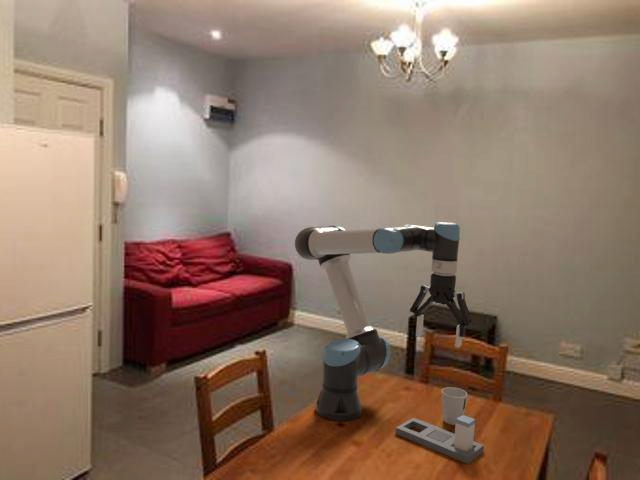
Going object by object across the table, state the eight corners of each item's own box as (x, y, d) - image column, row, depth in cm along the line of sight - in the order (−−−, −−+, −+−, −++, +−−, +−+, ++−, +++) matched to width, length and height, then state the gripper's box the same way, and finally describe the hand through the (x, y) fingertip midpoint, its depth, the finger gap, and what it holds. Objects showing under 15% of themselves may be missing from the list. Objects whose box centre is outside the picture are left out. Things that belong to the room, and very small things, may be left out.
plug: (453, 452, 159) (456, 418, 158) (459, 447, 162) (462, 414, 161) (465, 457, 157) (468, 423, 155) (472, 452, 160) (475, 419, 158)
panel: (395, 433, 169) (396, 427, 169) (412, 423, 176) (413, 417, 176) (467, 464, 153) (468, 457, 153) (483, 451, 161) (483, 445, 160)
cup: (465, 428, 175) (468, 398, 173) (439, 425, 176) (441, 395, 175) (464, 417, 182) (466, 389, 181) (439, 414, 184) (441, 385, 183)
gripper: (402, 268, 172) (397, 333, 175) (476, 282, 156) (470, 354, 158) (414, 265, 178) (410, 329, 180) (487, 278, 161) (481, 348, 164)
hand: (438, 341), depth 169 cm, fingers open, 13 cm apart
